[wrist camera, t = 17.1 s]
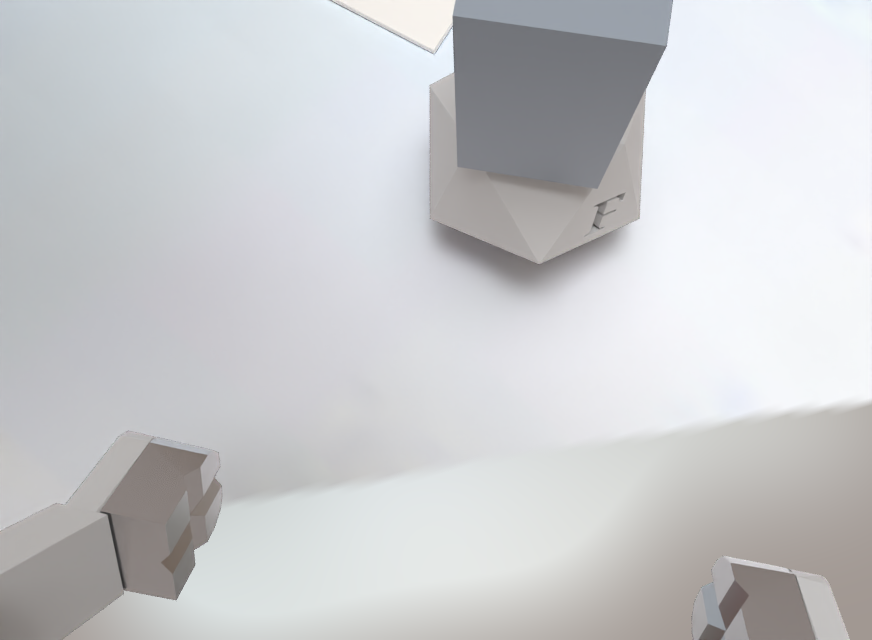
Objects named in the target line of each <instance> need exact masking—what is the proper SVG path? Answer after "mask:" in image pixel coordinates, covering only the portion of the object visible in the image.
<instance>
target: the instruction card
mask: <svg viewBox="0 0 872 640" xmlns="http://www.w3.org/2000/svg"><path fill="white" fill-rule="evenodd" d="M331 1H333V2H335V3H337V4H339V5H341V6H343V7H345V8H347V9H349V10H351V11H353V12H354V13H356V14H358V15H360V16H362V17H364V18H366V19H368V20H370V21H372V22H374V23H376V24H378V25H379V26H381V27H383V28H385V29H387V30H389V31H391V32H393V33H395V34H397V35H399V36H401V37H403V38H404V39H406V40H408V41H410V42H412V43H414V44H416V45H418V46H420V47H422V48H424V49H426V50H428V51H429V52H431V53H433V54H435V52H436V51H437V49H438V48H439V46H440V45H441V43H442V42H443V40H444V39H445V37H446V35H447V34H448V32H449V31H450V29H451V28H452V26H453V18H452V15H453V10H454V5H455V1H456V0H331Z"/></svg>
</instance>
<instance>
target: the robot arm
mask: <svg viewBox="0 0 872 640" xmlns="http://www.w3.org/2000/svg"><path fill="white" fill-rule="evenodd" d="M219 468H220V461H219V452H216V451H214V450H210V449H206V448H202V447H197V446H193V445H189V444H185V443H181V442H176V441H172V440H168V439H164V438H159V437H154V436H149V435H145V434H140V433H136V432H132V431H127V432H125V433H123V434H122V435H120V436H119V437H118V438H117V439H116V440H115V442H114V443H113V444H112V445H111V447H110V448H109V449H108V451H107V452H106V453H105V454H104V456H103V457H102V458H101V459H100V461H99V462H98V463H97V465H96V466H95V467H94V468H93V470H92V471H91V472H90V473H89V475H88V476H87V477H86V479H85V480H84V481H83V482H82V484H81V485H80V486H79V488H78V489H77V490H76V491H75V493H74V494H73V495H72V496H71V498H70V499H69V500H68V502H67V503H66V504H65V505H63V504H57V503H55V504H53V505H51V506H49V507H47V508H45V509H43V510H41V511H39V512H37V513H35V514H33V515H31V516H29V517H27V518H25V519H23V520H21V521H19V522H17V523H15V524H13V525H11V526H9V527H7V528H5V529H3V530H1V531H0V640H62V639H64V638H65V637H66V636H68V635H69V634H70V633H71V632H73V631H74V630H76V629H77V628H78V627H80V626H81V625H82V624H84V623H85V622H86V621H88V620H89V619H90V618H92V617H93V616H94V615H96V614H97V613H98V612H100V611H101V610H103V609H104V608H105V607H107V606H108V605H109V604H111V603H112V602H113V601H114V600H116V599H117V598H119V597H120V596H121V595H123V594H124V590H126V591H131V592H136V593H141V594H146V595H151V596H157V597H162V598H167V599H173V600H177V598H178V596H179V594H180V592H181V591H182V589H183V587H184V585H185V583H186V581H187V579H188V577H189V575H190V574H191V572H192V570H193V568H194V566H195V557H194V550H195V549H196V548H198V547H200V546H201V545H203V544H205V543H206V542H208V540H209V538H210V536H211V534H212V531H213V530H214V528H215V525H216V522H217V518H218V515H219V512H220V509H221V501H222V486H221V484H220V483H219V482H218V481H217V480H216V479H215V475H216V473H217V472H218V470H219ZM711 571H712V576H713V581H714V582H712V583H710V584H707V585H705V586H703V587H701V589H700V591H699V593H698V595H697V597H696V599H695V602H694V607H693V613H692V637H693V640H850V638H849V635H848V633H847V630H846V627H845V625H844V622H843V620H842V617H841V614H840V611H839V609H838V606H837V603H836V601H835V598H834V595H833V593H832V590H831V587H830V585H829V582H828V581H827V580H826V579H825V578H824V577H823V576H820V575H816V574H811V573H806V572H801V571H796V570H792V569H786V568H784V567H778V566H773V565H768V564H763V563H758V562H753V561H748V560H743V559H737V558H733V557H728V556H722V557H721V558H719V559H717V561H716V563H715V564H714V566H713V568H712V569H711Z"/></svg>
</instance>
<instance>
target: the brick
mask: <svg viewBox="0 0 872 640" xmlns="http://www.w3.org/2000/svg"><path fill="white" fill-rule="evenodd" d="M672 4H673V0H456V1H455V5H454V10H453V15H452V18H453V48H454V78H455V108H456V138H457V167H461V168H468V169H474V170H480V171H487V172H493V173H499V174H506V175H512V176H518V177H525V178H531V179H537V180H544V181H550V182H556V183H563V184H569V185H575V186H582V187H588V188H594V189H598V187H599V185H600V183H601V180H602V178H603V176H604V174H605V172H606V170H607V168H608V166H609V164H610V162H611V160H612V158H613V156H614V154H615V152H616V150H617V147H618V145H619V143H620V141H621V139H622V137H623V135H624V133H625V131H626V129H627V127H628V125H629V123H630V121H631V119H632V117H633V114H634V112H635V110H636V108H637V106H638V104H639V102H640V100H641V98H642V96H643V94H644V92H645V90H646V88H647V86H648V84H649V81H650V79H651V77H652V75H653V73H654V71H655V69H656V67H657V65H658V63H659V61H660V59H661V57H662V55H663V53H664V50H665V48H666V46H667V40H668V33H669V26H670V19H671V11H672Z"/></svg>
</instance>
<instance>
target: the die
mask: <svg viewBox="0 0 872 640" xmlns="http://www.w3.org/2000/svg"><path fill="white" fill-rule="evenodd" d="M645 94H646V90H645V92H644V94H643V96H642V98H641V100H640V102H639V104H638V106H637V108H636V110H635V112H634V114H633V117H632V119H631V121H630V123H629V125H628V127H627V129H626V131H625V133H624V135H623V137H622V139H621V141H620V143H619V145H618V147H617V150H616V152H615V154H614V156H613V158H612V160H611V162H610V164H609V166H608V168H607V170H606V172H605V174H604V176H603V178H602V180H601V183H600V185H599V187H598V189H594V188H588V187H582V186H575V185H569V184H563V183H556V182H550V181H544V180H537V179H531V178H525V177H518V176H512V175H506V174H499V173H493V172H487V171H480V170H474V169H468V168H461V167H457V138H456V108H455V78H454V73H452V74H450V75H448V76H446V77H444V78H442V79H441V80H439V81H437V82H435V83H433V84H431V85H430V219H432V220H434V221H437V222H439V223H441V224H444V225H446V226H449V227H451V228H453V229H456V230H458V231H461V232H463V233H465V234H468V235H470V236H473V237H475V238H477V239H480V240H482V241H484V242H487V243H489V244H492V245H494V246H496V247H499V248H501V249H504V250H506V251H508V252H511V253H513V254H516V255H518V256H520V257H523V258H525V259H528V260H530V261H532V262H535V263H537V264H541V263H543V262H546V261H548V260H550V259H552V258H554V257H557V256H559V255H561V254H563V253H565V252H568V251H570V250H572V249H574V248H576V247H579V246H581V245H583V244H585V243H587V242H590V241H592V240H594V239H596V238H598V237H601V236H603V235H605V234H607V233H609V232H612V231H614V230H616V229H618V228H620V227H623V226H625V225H627V224H629V223H631V222H634V221H636V220H638V219H639V218H640V197H641V176H642V156H643V135H644V115H645Z"/></svg>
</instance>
